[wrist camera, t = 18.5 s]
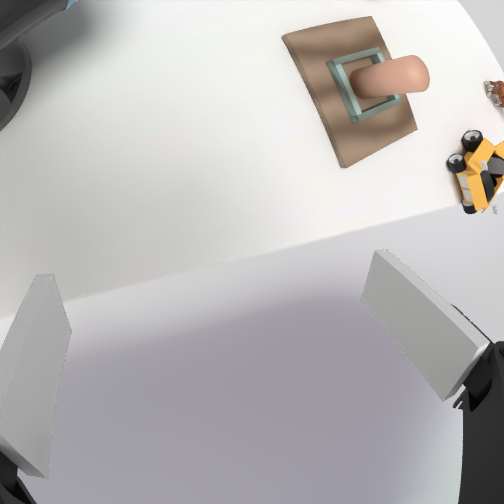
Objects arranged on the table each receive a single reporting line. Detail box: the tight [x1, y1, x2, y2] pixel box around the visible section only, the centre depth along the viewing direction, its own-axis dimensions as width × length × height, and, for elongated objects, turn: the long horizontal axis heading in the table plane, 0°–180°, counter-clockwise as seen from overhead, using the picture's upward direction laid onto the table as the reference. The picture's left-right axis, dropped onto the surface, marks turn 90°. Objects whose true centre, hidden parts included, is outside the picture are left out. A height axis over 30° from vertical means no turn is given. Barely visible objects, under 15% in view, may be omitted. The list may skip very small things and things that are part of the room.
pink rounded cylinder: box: [349, 55, 430, 99], centre depth 35 cm, size 5×5×12 cm
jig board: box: [282, 16, 418, 168], centre depth 40 cm, size 22×18×4 cm
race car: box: [447, 130, 504, 214], centre depth 50 cm, size 15×15×11 cm
